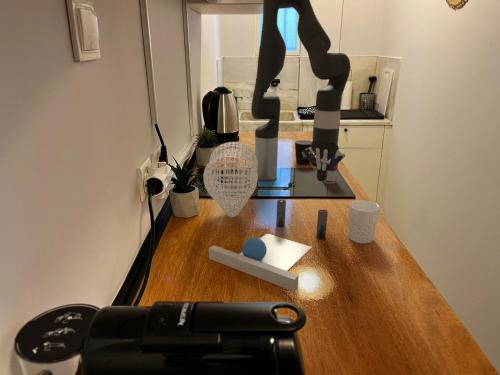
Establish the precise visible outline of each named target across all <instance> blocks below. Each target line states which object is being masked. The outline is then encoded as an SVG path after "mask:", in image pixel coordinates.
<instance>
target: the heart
mask: <svg viewBox="0 0 500 375" xmlns="http://www.w3.org/2000/svg"><path fill="white" fill-rule="evenodd" d="M254 155H255V156H254ZM254 158H255V159H254ZM232 159H233V160H232ZM236 159H237V160H236ZM253 160H254V161H253ZM231 164H233V166H231ZM236 164H237V166H236ZM240 164H241V166H240ZM255 165H256V166H255ZM257 168H258V161H257V156H256V154H255V150H253V148H251V147H250V146H248V145H246V143H243V142H239V141H238V142H237V141H229V142H225V143H222V144H220V145H218V146H217V147H216V148H215V149H214V150H213V151H212V153H211V154H210V156H209V162H208V163H207V164H206V166H205V167H204V172H203V176H202V177H203V184H204V187H205V189H206V191H207V193H208V194H209V195H210V196H209V197H211V198H212V199H213V201H215V202H216V203H217V204H218V206H219V207H220V209H221V210H222V211H223V213H224V214H225V215H226V216H228V217H229V218H235V217H237V216H238V215H239V214H240V212H241V211H242V209H243V208H244V207H245V205H246V203H247V202H248V200H249V199H250V198H251V197H252V196H253V193H254V192H255V190H256V188H257V185H258V174H257ZM232 170H233V172H232ZM236 170H237V173H236ZM240 170H241V173H240ZM222 171H223V173H222ZM246 171H247V174H246ZM222 177H223V178H222ZM225 177H226V178H225ZM236 178H237V179H236ZM221 186H222V187H221ZM225 186H226V187H225ZM245 186H246V187H245ZM235 187H236V188H235Z"/></svg>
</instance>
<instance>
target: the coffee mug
mask: <svg viewBox="0 0 500 375" xmlns="http://www.w3.org/2000/svg"><path fill="white" fill-rule="evenodd" d="M312 141H313V140H308V139H297V140H295V141H294V147H295V148H294V149H295V150H294V151H295V162H296V163H295V164H297V165H300V166H308V165H311V163H310V162H309V160H308V158H307V156H306V155H305V153H304V150H305V149H307V148H309V147H311V143H312ZM313 154H314V153H313ZM314 156H315V154H314ZM315 157H316V156H315Z"/></svg>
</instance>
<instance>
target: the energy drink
mask: <svg viewBox="0 0 500 375" xmlns="http://www.w3.org/2000/svg"><path fill="white" fill-rule="evenodd" d="M335 156H336V154H335V155H334V156H333V157H332V158H331V160H330V163H329V165H330V164H331V163H332V162H333V161H334V160H335V159H336V158H335ZM338 168H339V163H338V164H337V165H336V166H335V167H334V168H332V169H331V170H328V173H327V179H326V180H325V181H323V182H322V183H324V184H327V185H334V184H336V183H337V179H338Z"/></svg>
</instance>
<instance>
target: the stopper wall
mask: <svg viewBox="0 0 500 375" xmlns="http://www.w3.org/2000/svg"><path fill="white" fill-rule="evenodd" d="M208 259H209V260H212V261H214V262H217V263H219V264H222V265H225V266H227V267H229V268H232V269H235V270H237V271H240V272H242V273H245V274H248V275H250V276H253V277H255V278H258V279H261V280H263V281H265V282H269V283H271V284H274V285H276V286H279V287H281V288H284V289H286V290H289V291H291V292H295V291H296V290H297V289H298V287H299V277H300V276H299V275H298V274H295V273H292V272H289V271H285V270H282V269H279V268H276V267H273V266H271V265H268V264H265V263H262V262H259V261H257V260H254V259H251V258H248V257H246V256H243V255H240V253H238V252H234V251H231V250H228V249H226V248H223V247H220V246H217V245H212V246H210V247H208Z"/></svg>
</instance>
